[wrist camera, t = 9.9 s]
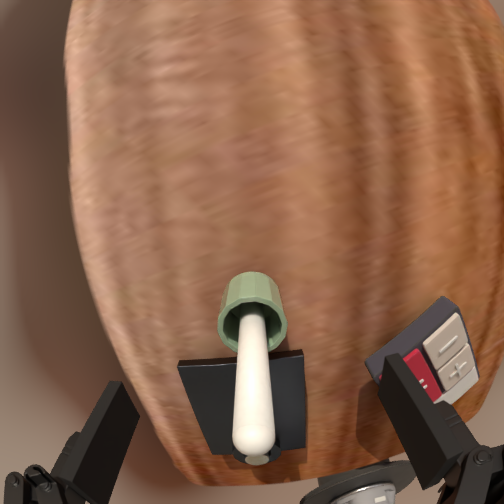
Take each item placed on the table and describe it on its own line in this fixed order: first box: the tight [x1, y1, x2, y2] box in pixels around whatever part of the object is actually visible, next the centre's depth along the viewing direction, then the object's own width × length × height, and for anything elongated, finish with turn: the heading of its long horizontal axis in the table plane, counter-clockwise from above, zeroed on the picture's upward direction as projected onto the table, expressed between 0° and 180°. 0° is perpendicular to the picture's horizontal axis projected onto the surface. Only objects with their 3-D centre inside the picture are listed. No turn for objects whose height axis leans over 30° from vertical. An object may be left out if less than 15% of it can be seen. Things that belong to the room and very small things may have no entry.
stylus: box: [232, 301, 275, 456], centre depth 16 cm, size 2×2×15 cm
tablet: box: [177, 349, 306, 464], centre depth 26 cm, size 17×12×2 cm
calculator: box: [365, 296, 480, 404], centre depth 24 cm, size 11×4×15 cm
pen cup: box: [217, 272, 288, 353], centre depth 21 cm, size 5×5×5 cm
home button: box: [245, 451, 269, 465], centre depth 26 cm, size 3×3×1 cm
